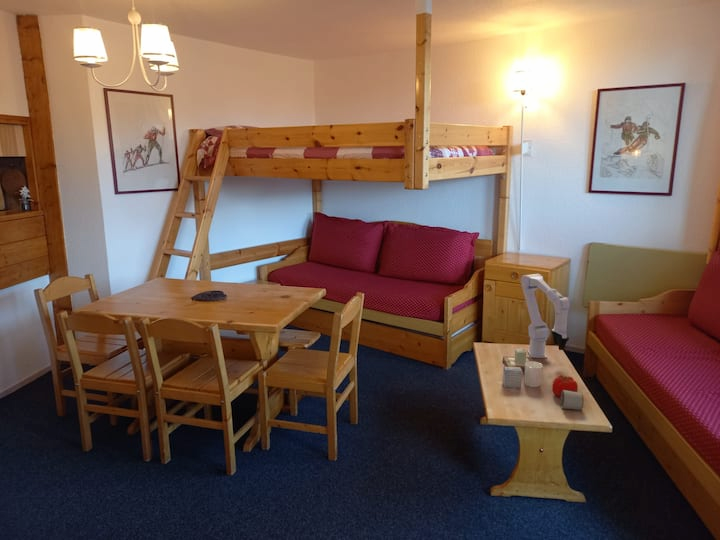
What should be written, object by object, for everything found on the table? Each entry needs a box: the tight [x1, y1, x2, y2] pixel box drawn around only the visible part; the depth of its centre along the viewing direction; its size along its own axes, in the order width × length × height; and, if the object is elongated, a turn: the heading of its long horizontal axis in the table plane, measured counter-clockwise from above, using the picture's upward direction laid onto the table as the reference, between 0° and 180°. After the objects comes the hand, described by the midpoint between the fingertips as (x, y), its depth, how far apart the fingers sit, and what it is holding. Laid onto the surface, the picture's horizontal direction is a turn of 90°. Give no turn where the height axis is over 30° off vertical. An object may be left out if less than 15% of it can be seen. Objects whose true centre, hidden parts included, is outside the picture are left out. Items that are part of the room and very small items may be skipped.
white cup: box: [524, 361, 544, 388], centre depth 242 cm, size 8×8×10 cm
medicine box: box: [502, 366, 523, 389], centre depth 241 cm, size 8×4×9 cm, turn 84°
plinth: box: [502, 356, 533, 373], centre depth 263 cm, size 14×14×2 cm
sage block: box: [514, 348, 527, 364], centre depth 262 cm, size 4×4×6 cm
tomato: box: [551, 375, 579, 398], centre depth 231 cm, size 11×11×9 cm
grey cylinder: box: [560, 390, 585, 411], centre depth 221 cm, size 11×8×8 cm
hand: (558, 347), depth 261 cm, fingers open, 7 cm apart
